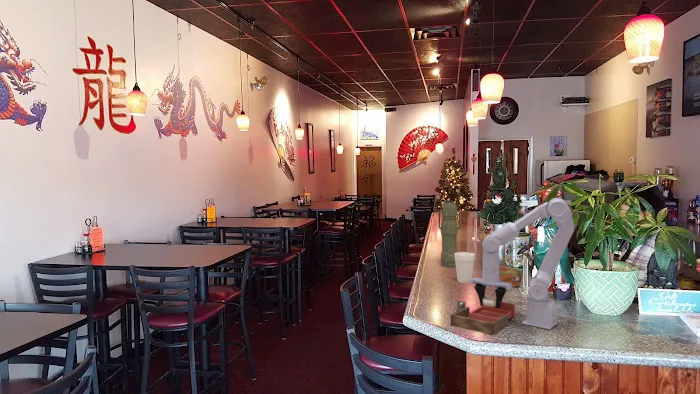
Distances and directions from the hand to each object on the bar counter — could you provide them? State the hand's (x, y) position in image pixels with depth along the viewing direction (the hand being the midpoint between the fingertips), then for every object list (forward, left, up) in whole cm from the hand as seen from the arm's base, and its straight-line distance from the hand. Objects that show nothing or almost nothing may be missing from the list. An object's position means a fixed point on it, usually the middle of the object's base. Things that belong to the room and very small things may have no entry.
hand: (490, 306), depth 173 cm
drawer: (0, 0, -4) cm, 4 cm away
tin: (+15, -50, -5) cm, 52 cm away
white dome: (0, 0, +1) cm, 1 cm away
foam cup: (+33, -45, -5) cm, 56 cm away
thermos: (+56, -72, -5) cm, 91 cm away
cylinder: (+12, -1, -4) cm, 13 cm away
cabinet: (0, +8, -4) cm, 9 cm away
